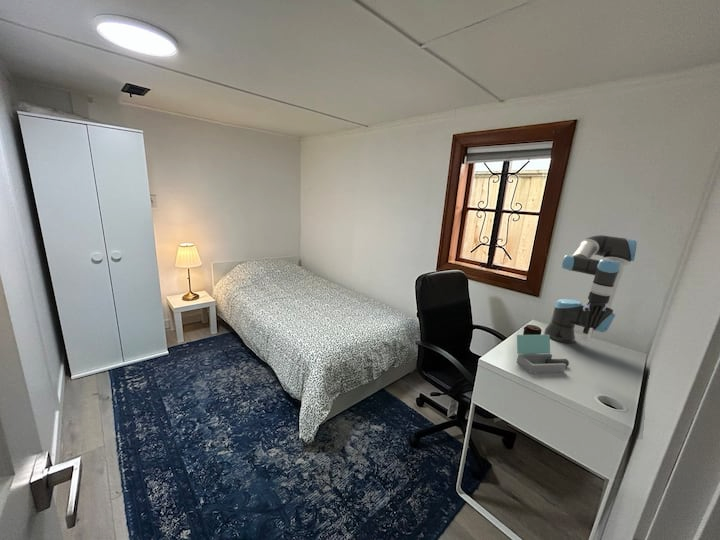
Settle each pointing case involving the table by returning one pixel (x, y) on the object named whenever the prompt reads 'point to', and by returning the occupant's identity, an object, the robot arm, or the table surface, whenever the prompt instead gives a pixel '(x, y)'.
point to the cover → (533, 344)
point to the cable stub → (557, 361)
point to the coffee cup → (532, 330)
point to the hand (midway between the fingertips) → (585, 339)
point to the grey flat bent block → (528, 359)
